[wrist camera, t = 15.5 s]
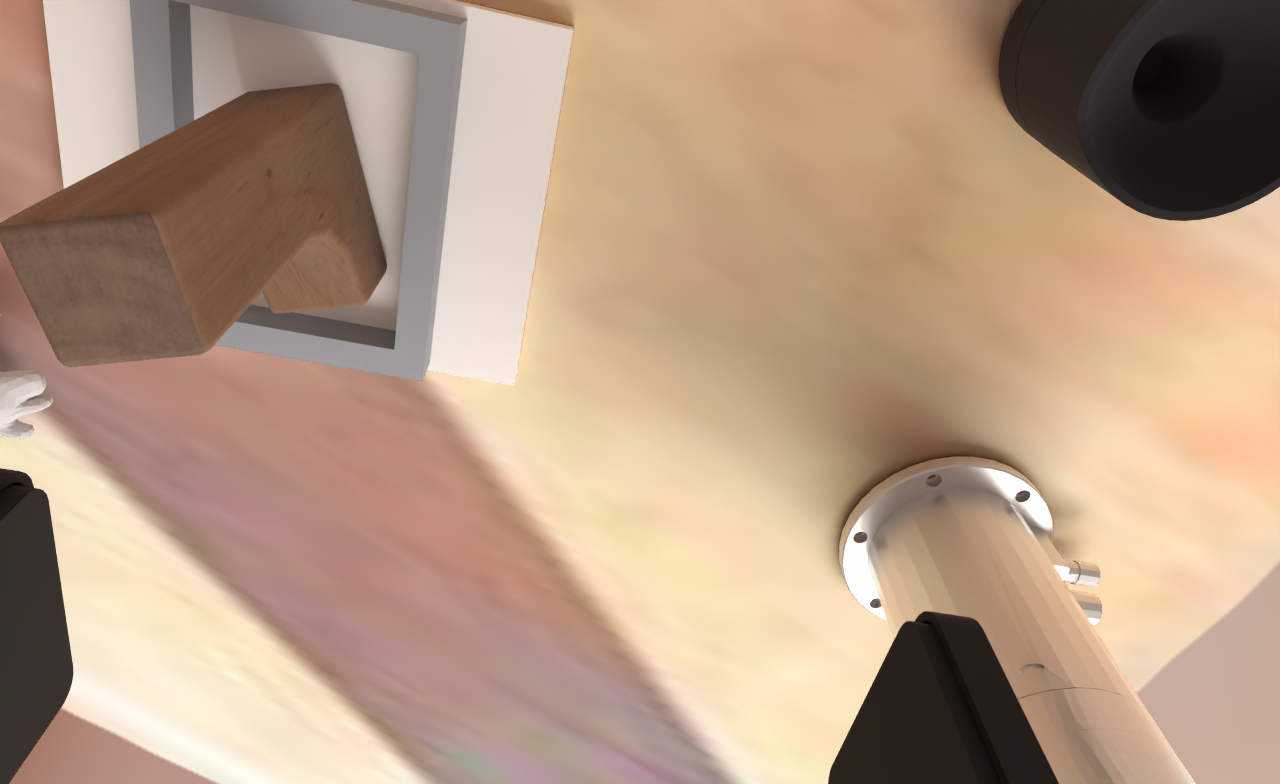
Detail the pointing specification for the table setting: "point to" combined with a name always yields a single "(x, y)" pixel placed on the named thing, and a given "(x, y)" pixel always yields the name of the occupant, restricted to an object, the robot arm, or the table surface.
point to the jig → (386, 142)
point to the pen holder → (1153, 97)
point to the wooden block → (203, 232)
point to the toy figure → (20, 401)
